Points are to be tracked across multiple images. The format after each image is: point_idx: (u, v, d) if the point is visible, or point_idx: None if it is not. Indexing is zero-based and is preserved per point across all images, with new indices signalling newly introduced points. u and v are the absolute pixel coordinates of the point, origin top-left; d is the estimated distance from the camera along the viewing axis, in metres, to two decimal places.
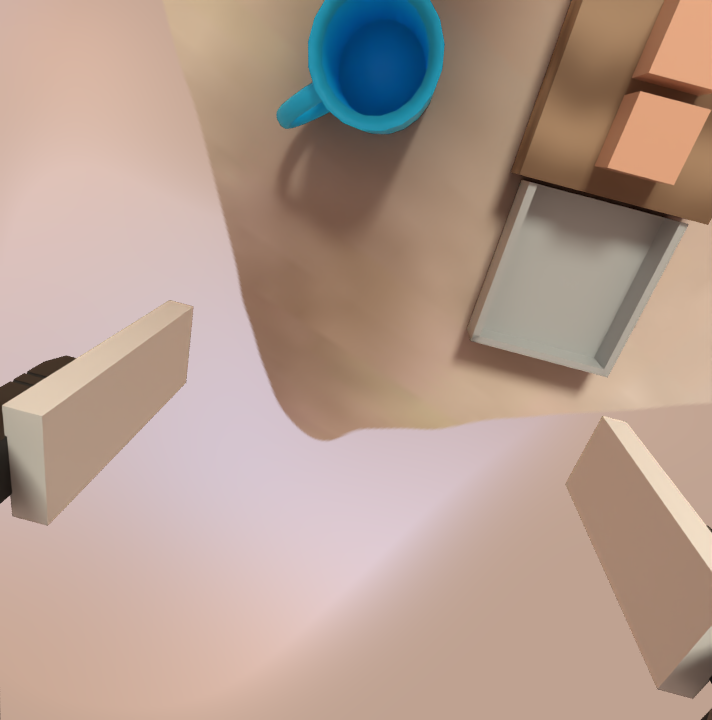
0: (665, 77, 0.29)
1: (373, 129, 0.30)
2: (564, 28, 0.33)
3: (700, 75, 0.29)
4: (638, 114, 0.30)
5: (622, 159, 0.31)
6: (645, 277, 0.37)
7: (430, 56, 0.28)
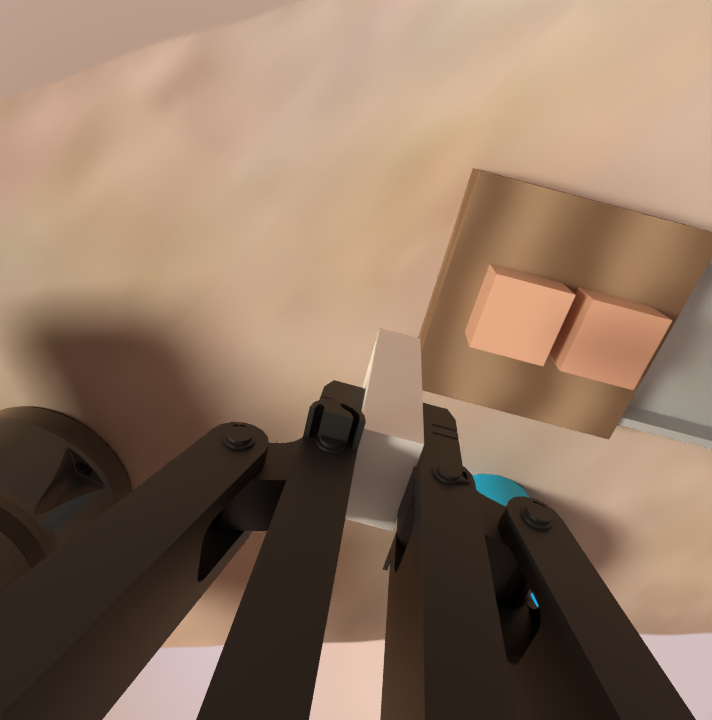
0: (550, 349, 0.28)
1: None
2: None
3: (555, 318, 0.27)
4: (583, 368, 0.28)
5: (627, 377, 0.28)
6: None
7: None
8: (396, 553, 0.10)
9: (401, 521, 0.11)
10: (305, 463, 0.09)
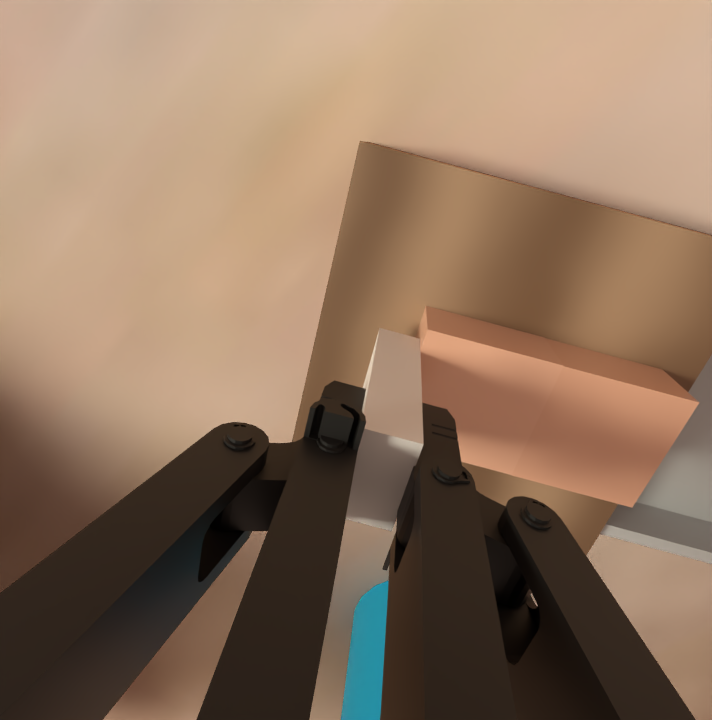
0: (522, 448, 0.17)
1: None
2: None
3: (529, 401, 0.16)
4: (549, 473, 0.17)
5: (623, 488, 0.17)
6: None
7: None
8: (396, 553, 0.10)
9: (401, 521, 0.11)
10: (305, 463, 0.09)
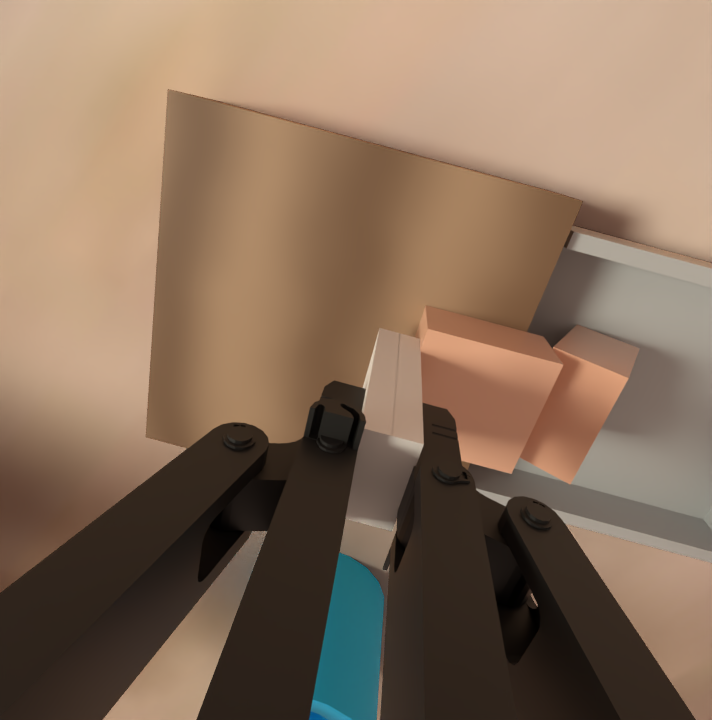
0: (522, 448, 0.17)
1: None
2: None
3: (529, 400, 0.16)
4: None
5: None
6: None
7: None
8: (396, 553, 0.10)
9: (401, 521, 0.11)
10: (305, 463, 0.09)
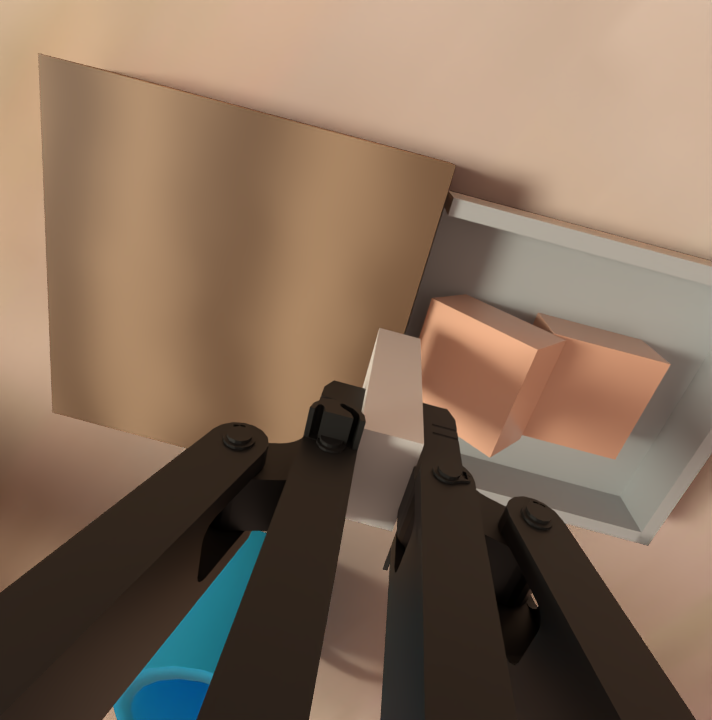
0: (501, 432, 0.17)
1: None
2: None
3: (506, 382, 0.17)
4: None
5: None
6: None
7: (190, 678, 0.21)
8: (396, 553, 0.10)
9: (401, 521, 0.11)
10: (305, 463, 0.09)
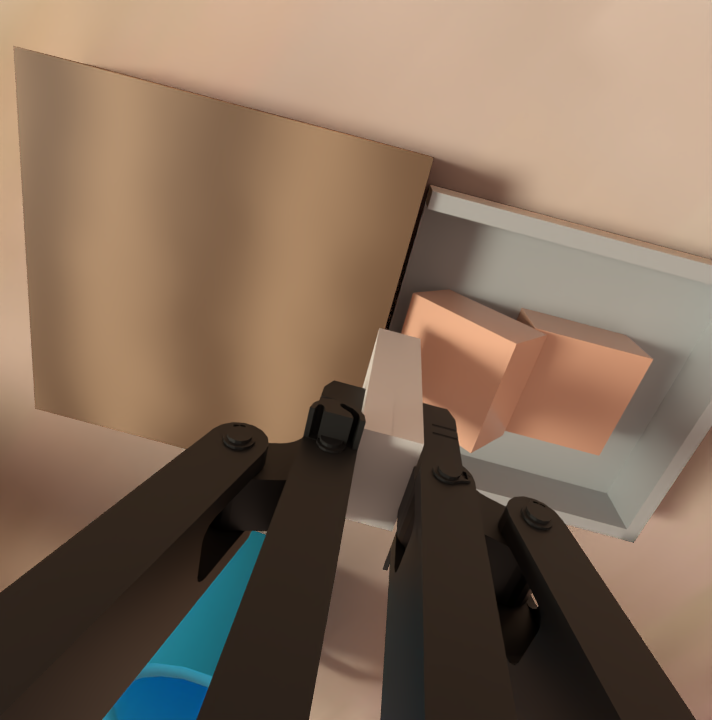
0: (482, 428, 0.17)
1: None
2: None
3: (486, 376, 0.17)
4: None
5: None
6: None
7: (172, 675, 0.21)
8: (396, 553, 0.10)
9: (401, 521, 0.11)
10: (305, 463, 0.09)
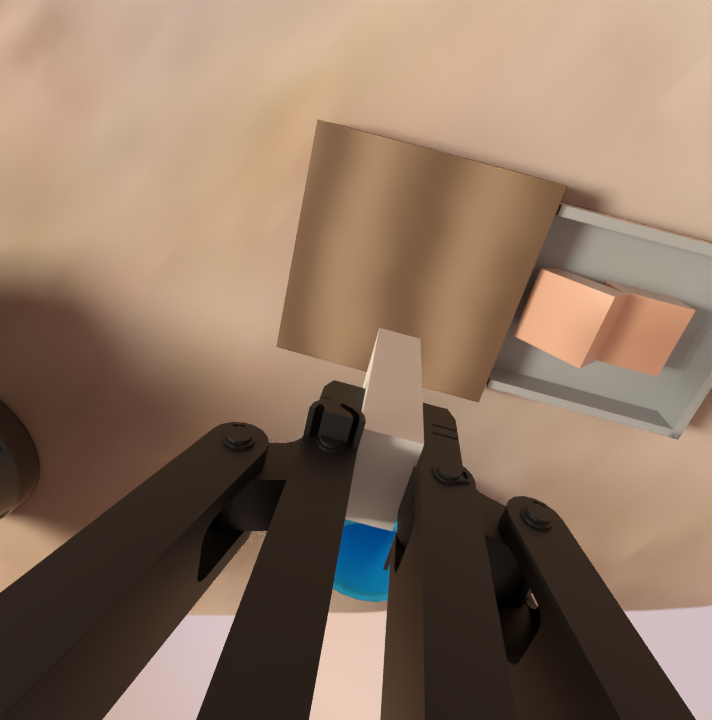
0: (588, 351, 0.27)
1: None
2: None
3: (593, 318, 0.27)
4: None
5: None
6: None
7: None
8: (396, 553, 0.10)
9: (401, 521, 0.11)
10: (305, 463, 0.09)
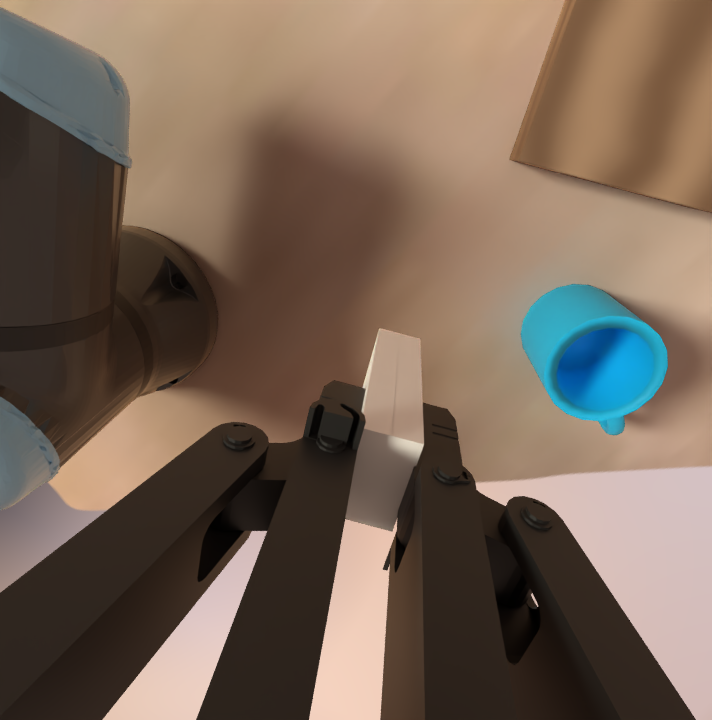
0: None
1: (664, 374, 0.33)
2: (570, 175, 0.35)
3: None
4: None
5: None
6: None
7: (616, 326, 0.32)
8: (396, 553, 0.10)
9: (401, 521, 0.11)
10: (305, 463, 0.09)
